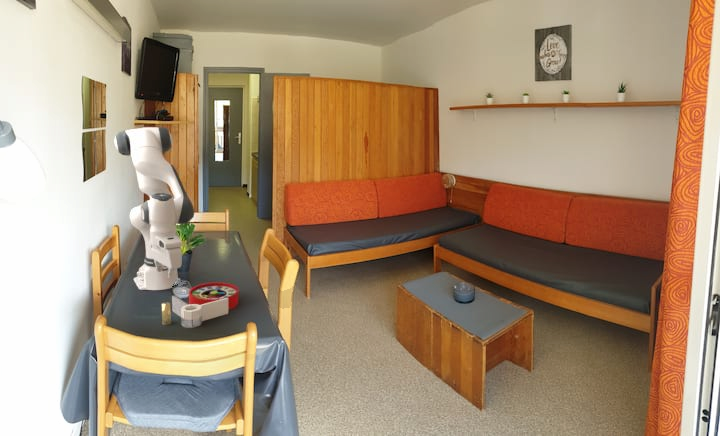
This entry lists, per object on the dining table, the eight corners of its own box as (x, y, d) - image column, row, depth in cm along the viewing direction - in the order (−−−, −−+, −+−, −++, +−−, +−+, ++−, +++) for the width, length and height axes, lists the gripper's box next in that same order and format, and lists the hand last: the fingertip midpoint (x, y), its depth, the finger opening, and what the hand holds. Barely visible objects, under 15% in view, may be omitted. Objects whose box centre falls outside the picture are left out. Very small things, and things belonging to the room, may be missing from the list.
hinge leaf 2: (178, 323, 173) (178, 307, 171) (223, 310, 186) (223, 295, 185) (187, 329, 168) (186, 313, 167) (232, 315, 182) (232, 300, 180)
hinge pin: (160, 323, 172) (160, 303, 170) (168, 321, 174) (168, 301, 172) (164, 326, 170) (163, 306, 168) (172, 323, 172) (171, 304, 170)
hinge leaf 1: (165, 313, 181) (164, 297, 179) (182, 308, 186) (181, 293, 184) (187, 329, 168) (186, 313, 167) (204, 324, 173) (204, 308, 172)
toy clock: (181, 298, 181) (197, 281, 201) (182, 312, 183) (197, 294, 202) (232, 301, 182) (243, 283, 202) (232, 314, 184) (243, 295, 203)
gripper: (142, 233, 169) (144, 269, 172) (167, 245, 156) (168, 283, 159) (159, 231, 174) (161, 265, 177) (184, 242, 160) (185, 279, 163)
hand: (165, 274), depth 168 cm, fingers open, 8 cm apart
